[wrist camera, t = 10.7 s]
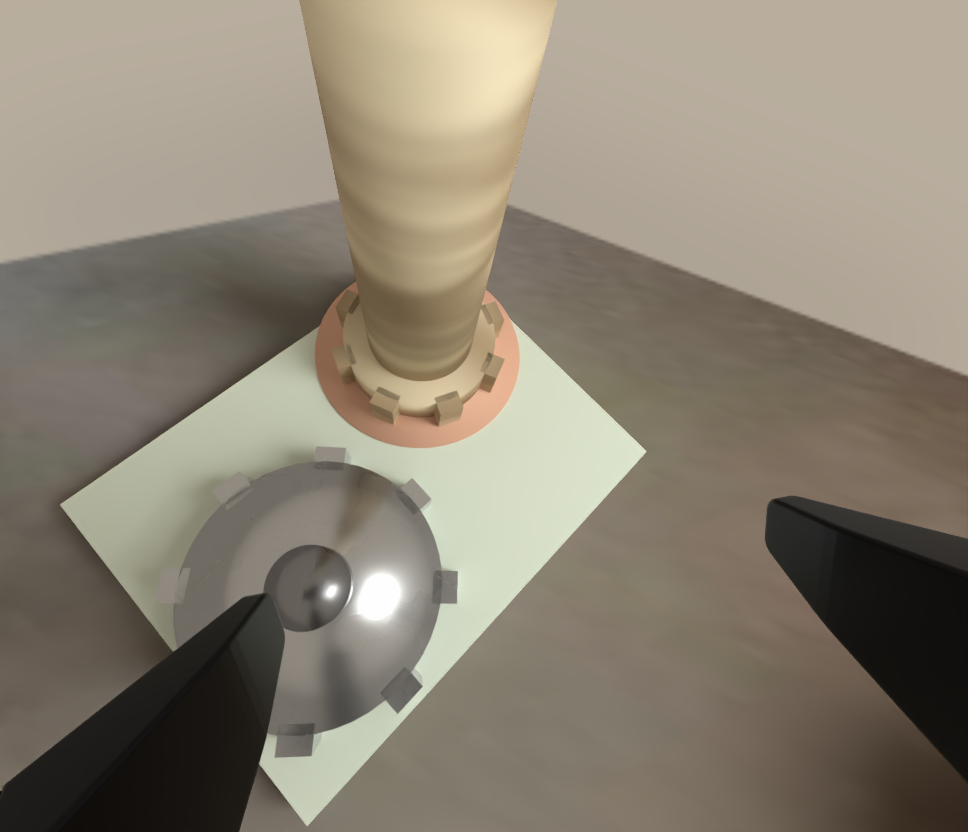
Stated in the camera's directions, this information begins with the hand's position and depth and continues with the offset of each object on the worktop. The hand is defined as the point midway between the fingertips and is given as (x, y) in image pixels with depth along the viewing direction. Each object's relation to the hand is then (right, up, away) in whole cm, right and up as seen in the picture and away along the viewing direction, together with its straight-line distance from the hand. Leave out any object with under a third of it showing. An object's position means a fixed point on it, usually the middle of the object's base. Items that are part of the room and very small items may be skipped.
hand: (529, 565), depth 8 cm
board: (-5, 0, +10) cm, 11 cm away
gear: (-6, -3, +8) cm, 10 cm away
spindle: (-3, +5, +11) cm, 13 cm away
